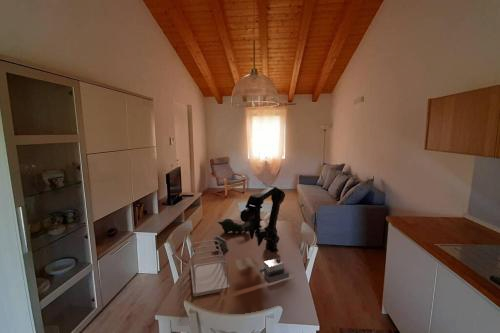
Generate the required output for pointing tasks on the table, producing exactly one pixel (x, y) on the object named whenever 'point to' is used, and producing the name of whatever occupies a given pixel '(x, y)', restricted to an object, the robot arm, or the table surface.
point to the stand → (245, 263)
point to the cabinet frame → (275, 278)
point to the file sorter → (208, 273)
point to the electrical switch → (221, 243)
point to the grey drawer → (274, 267)
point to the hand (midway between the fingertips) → (255, 242)
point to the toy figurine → (231, 226)
